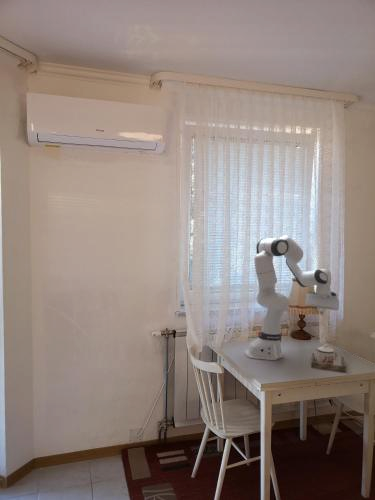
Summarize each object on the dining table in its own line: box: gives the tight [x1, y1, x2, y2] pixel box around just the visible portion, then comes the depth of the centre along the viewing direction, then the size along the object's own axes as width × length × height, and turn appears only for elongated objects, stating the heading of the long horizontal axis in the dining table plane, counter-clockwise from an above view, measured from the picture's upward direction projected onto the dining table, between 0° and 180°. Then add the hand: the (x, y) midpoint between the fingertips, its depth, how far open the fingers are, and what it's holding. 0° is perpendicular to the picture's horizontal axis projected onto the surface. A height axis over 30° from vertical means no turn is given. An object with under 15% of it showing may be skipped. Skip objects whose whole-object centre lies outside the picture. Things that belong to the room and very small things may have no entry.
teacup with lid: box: [316, 343, 338, 365], centre depth 206 cm, size 12×9×12 cm
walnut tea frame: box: [310, 352, 346, 373], centre depth 207 cm, size 17×18×3 cm
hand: (321, 314), depth 228 cm, fingers closed
